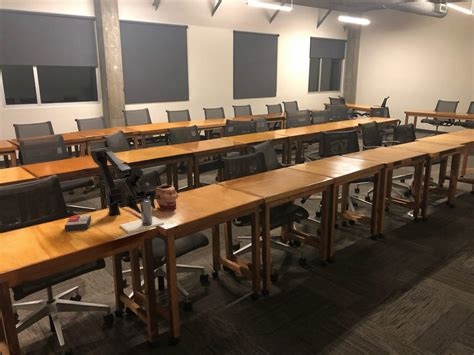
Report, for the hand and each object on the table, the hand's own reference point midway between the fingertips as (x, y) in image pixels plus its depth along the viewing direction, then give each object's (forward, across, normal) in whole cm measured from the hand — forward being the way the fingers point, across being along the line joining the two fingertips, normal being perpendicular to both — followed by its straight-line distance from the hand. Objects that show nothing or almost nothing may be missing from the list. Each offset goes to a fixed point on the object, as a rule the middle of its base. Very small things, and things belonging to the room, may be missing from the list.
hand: (147, 210), depth 201 cm
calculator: (-16, -22, +29) cm, 40 cm away
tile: (+3, -1, +9) cm, 10 cm away
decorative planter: (-5, +25, +18) cm, 31 cm away
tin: (+5, 0, +6) cm, 8 cm away
